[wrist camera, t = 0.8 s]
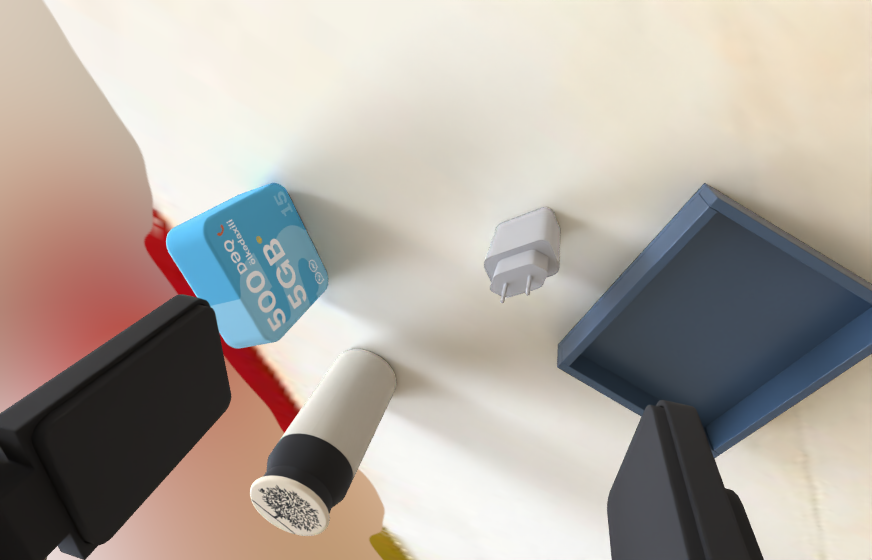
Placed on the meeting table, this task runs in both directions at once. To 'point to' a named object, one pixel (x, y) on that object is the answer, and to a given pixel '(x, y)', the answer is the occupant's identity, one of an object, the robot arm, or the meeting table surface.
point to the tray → (722, 322)
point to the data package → (250, 264)
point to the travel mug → (325, 444)
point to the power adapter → (523, 253)
